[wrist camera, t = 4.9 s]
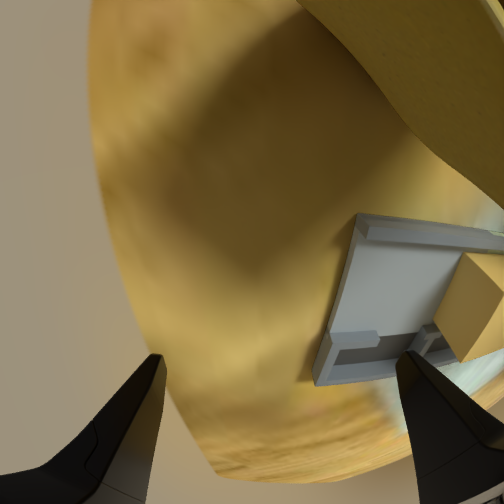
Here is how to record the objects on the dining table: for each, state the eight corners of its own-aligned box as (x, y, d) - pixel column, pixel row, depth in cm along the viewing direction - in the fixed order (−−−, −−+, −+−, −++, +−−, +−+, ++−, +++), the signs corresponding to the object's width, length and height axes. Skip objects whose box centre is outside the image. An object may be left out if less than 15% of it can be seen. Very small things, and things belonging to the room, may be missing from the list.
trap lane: (519, 236, 12) (531, 245, 11) (462, 347, 18) (469, 357, 16) (357, 212, 11) (369, 226, 10) (311, 369, 17) (314, 386, 16)
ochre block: (515, 255, 12) (547, 286, 9) (488, 310, 15) (513, 343, 11) (463, 251, 12) (504, 293, 8) (432, 318, 14) (460, 363, 11)
